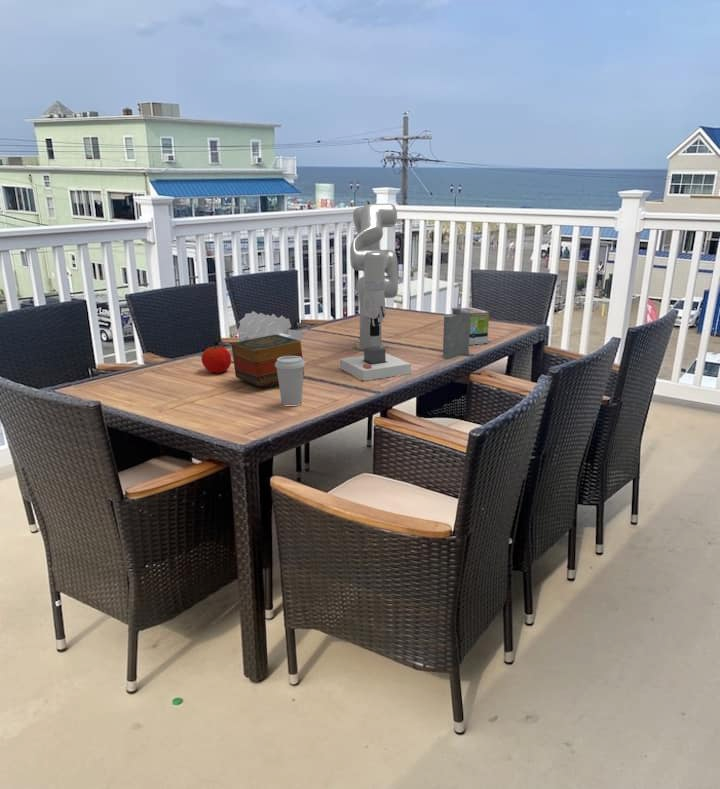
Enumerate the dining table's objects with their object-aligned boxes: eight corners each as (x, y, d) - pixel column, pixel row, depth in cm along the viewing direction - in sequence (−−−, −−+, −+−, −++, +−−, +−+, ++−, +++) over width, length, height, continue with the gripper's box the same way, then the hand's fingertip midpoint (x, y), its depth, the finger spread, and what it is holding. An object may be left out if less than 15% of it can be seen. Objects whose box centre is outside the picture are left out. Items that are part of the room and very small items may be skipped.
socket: (340, 368, 237) (339, 356, 236) (384, 362, 246) (384, 350, 244) (363, 381, 220) (363, 368, 219) (410, 374, 229) (411, 361, 227)
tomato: (229, 366, 243) (227, 341, 240) (234, 374, 232) (232, 348, 229) (200, 369, 239) (198, 343, 236) (204, 377, 228) (202, 350, 225)
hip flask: (447, 359, 249) (449, 311, 243) (439, 357, 252) (441, 309, 246) (469, 352, 260) (472, 306, 254) (462, 351, 263) (463, 305, 257)
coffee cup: (307, 398, 202) (305, 354, 197) (305, 408, 192) (304, 362, 188) (278, 399, 201) (276, 355, 197) (275, 408, 192) (272, 362, 188)
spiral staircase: (282, 370, 252) (242, 358, 266) (309, 345, 261) (269, 335, 276) (267, 334, 240) (226, 324, 255) (295, 310, 249) (255, 301, 264)
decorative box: (307, 386, 218) (308, 340, 214) (248, 391, 207) (248, 342, 203) (284, 376, 235) (285, 333, 232) (229, 379, 224) (229, 335, 221)
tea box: (488, 343, 276) (490, 311, 271) (469, 345, 272) (470, 313, 268) (470, 337, 289) (472, 306, 285) (452, 339, 286) (453, 307, 281)
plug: (364, 368, 234) (364, 347, 232) (377, 366, 237) (377, 346, 234) (371, 371, 229) (371, 351, 226) (385, 369, 231) (385, 349, 229)
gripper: (356, 285, 228) (356, 333, 233) (375, 289, 215) (375, 340, 221) (373, 283, 231) (373, 331, 237) (393, 288, 218) (393, 338, 224)
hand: (374, 335), depth 229 cm, fingers closed
